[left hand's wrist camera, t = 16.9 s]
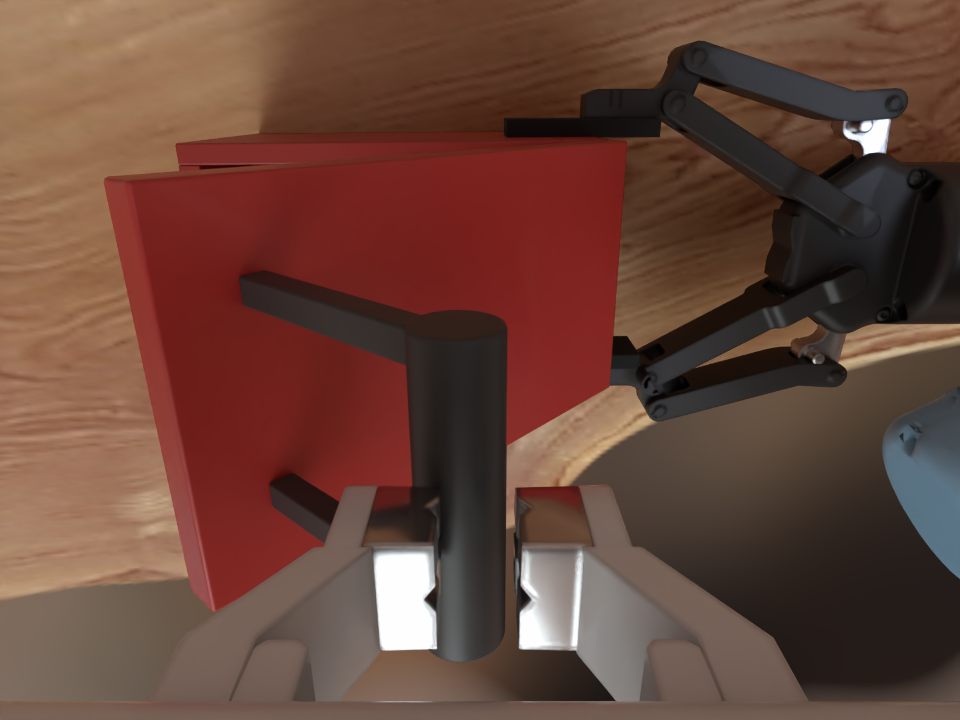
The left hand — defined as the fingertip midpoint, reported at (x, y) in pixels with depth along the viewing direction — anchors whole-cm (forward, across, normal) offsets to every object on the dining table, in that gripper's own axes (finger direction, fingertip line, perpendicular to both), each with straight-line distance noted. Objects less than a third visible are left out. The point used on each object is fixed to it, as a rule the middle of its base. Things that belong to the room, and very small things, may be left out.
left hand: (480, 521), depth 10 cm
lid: (+11, -1, 0) cm, 11 cm away
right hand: (+21, +1, 0) cm, 21 cm away
